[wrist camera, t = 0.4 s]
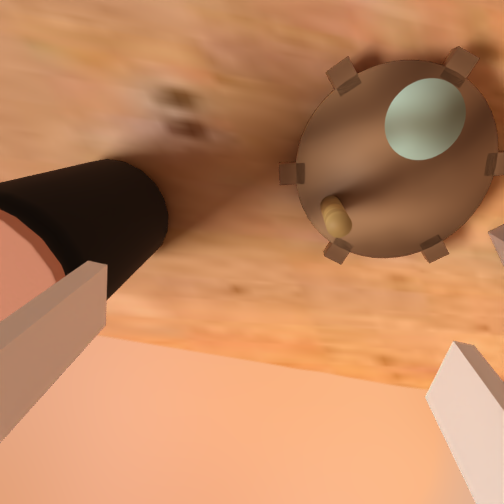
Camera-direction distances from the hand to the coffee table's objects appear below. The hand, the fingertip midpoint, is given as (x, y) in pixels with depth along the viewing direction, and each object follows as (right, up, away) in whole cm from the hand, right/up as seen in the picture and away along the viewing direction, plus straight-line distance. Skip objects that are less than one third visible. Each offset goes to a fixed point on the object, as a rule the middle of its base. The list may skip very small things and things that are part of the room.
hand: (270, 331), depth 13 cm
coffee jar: (-14, +7, +22) cm, 27 cm away
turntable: (+11, +10, +17) cm, 23 cm away
